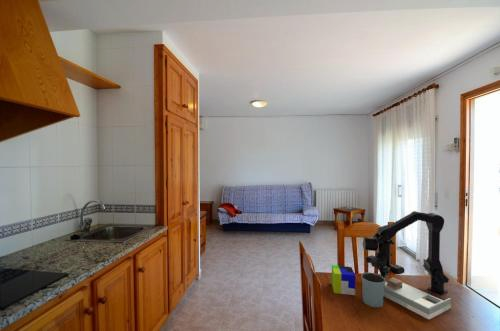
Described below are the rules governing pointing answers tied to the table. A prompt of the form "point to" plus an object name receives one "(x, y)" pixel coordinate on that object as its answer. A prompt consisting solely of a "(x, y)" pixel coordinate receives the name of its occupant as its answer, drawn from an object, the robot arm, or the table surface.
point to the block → (394, 283)
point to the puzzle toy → (343, 280)
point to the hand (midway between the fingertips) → (383, 280)
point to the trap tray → (417, 300)
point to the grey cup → (373, 289)
